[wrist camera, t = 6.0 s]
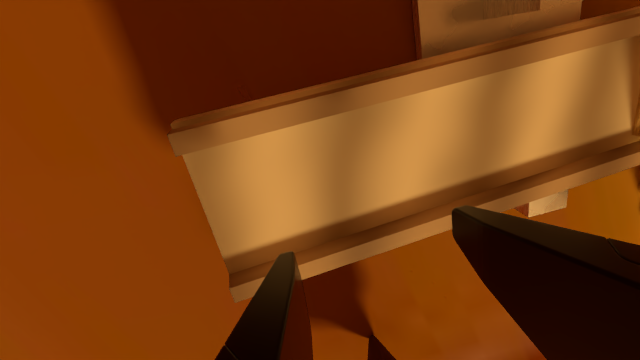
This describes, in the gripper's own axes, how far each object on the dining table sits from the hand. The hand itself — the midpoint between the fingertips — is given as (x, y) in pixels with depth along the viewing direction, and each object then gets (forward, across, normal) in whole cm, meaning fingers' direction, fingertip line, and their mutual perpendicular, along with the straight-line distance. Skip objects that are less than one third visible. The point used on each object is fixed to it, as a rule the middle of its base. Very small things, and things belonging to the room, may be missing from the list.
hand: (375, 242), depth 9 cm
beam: (+8, -12, 0) cm, 14 cm away
